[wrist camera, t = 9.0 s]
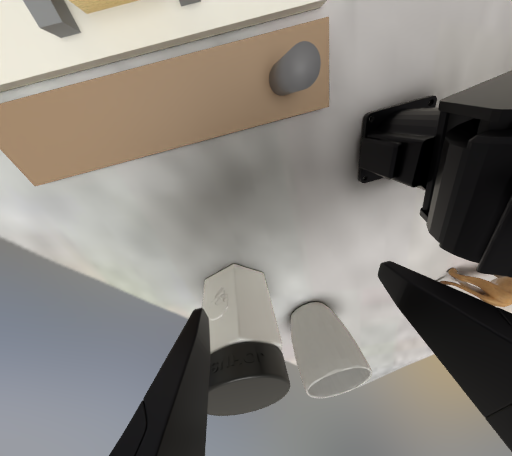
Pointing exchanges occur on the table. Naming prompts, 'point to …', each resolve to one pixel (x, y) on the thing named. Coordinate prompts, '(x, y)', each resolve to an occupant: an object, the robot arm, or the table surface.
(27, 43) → the door board
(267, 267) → the table surface
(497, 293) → the lion figurine
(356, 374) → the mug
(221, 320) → the jar
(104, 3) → the bar
